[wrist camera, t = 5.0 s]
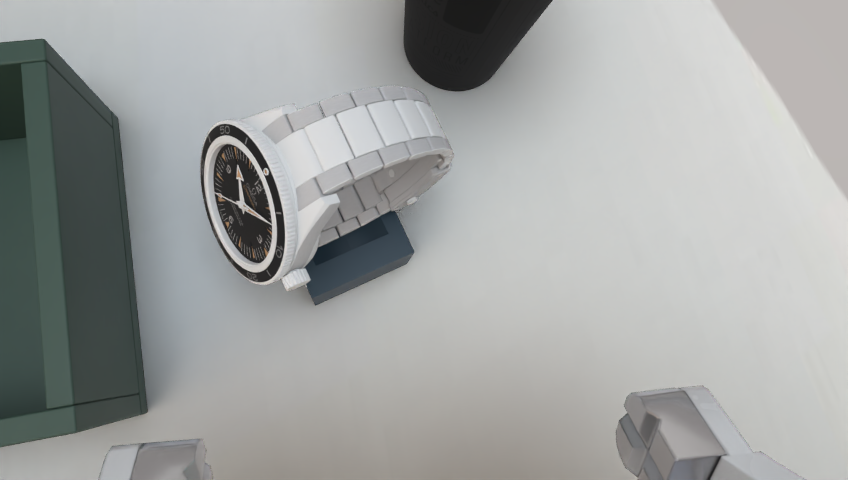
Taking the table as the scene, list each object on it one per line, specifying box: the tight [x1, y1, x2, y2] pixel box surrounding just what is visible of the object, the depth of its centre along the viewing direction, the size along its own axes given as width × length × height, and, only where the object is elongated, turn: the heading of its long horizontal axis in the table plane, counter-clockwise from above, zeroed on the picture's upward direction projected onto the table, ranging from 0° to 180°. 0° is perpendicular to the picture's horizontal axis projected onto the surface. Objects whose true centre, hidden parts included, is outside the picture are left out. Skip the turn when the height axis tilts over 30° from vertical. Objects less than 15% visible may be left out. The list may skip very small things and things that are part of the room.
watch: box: [200, 86, 454, 305], centre depth 22 cm, size 6×8×11 cm
